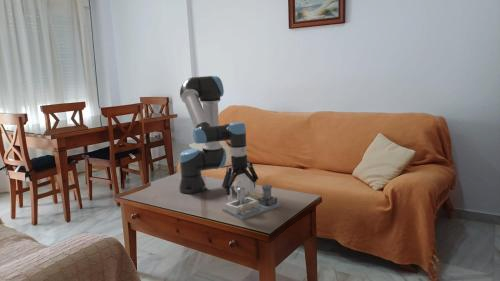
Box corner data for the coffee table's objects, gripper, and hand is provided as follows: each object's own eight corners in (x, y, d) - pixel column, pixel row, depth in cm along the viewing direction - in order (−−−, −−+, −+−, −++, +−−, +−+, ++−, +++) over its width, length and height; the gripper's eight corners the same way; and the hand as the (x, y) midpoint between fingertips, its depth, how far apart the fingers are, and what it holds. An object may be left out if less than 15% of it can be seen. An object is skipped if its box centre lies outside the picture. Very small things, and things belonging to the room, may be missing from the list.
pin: (236, 208, 186) (234, 188, 184) (242, 205, 188) (241, 186, 186) (241, 210, 183) (239, 190, 181) (247, 207, 185) (246, 188, 183)
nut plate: (222, 210, 187) (220, 191, 185) (259, 198, 201) (258, 180, 200) (242, 219, 174) (240, 198, 173) (280, 205, 189) (279, 186, 187)
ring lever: (243, 197, 200) (243, 193, 199) (253, 194, 204) (253, 190, 203) (266, 206, 185) (266, 201, 185) (277, 202, 190) (277, 197, 189)
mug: (240, 198, 202) (238, 180, 201) (229, 195, 208) (228, 177, 206) (255, 193, 211) (255, 175, 209) (245, 190, 216) (244, 172, 215)
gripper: (221, 161, 170) (224, 206, 174) (264, 151, 185) (266, 193, 189) (212, 158, 176) (215, 202, 180) (254, 149, 191) (256, 190, 195)
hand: (241, 197), depth 184 cm, fingers open, 13 cm apart
